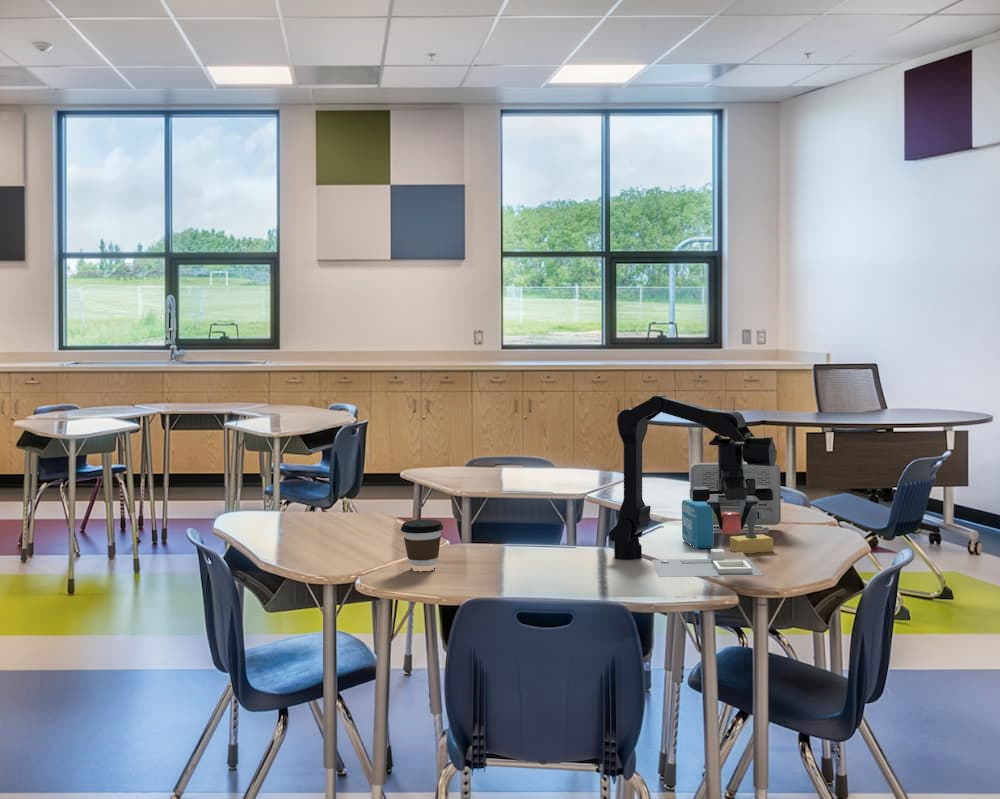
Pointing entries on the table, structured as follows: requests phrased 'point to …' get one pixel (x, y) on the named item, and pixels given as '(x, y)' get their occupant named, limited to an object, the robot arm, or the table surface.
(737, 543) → the rubber stamp
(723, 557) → the block
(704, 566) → the breaker panel
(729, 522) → the cap
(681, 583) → the table surface
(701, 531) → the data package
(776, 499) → the network device
